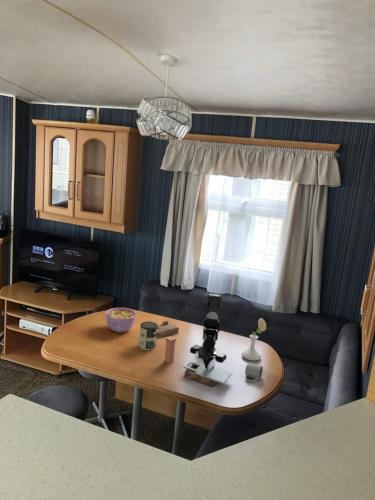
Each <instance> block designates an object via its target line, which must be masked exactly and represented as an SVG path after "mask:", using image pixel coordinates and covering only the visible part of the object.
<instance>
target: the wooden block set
mask: <svg viewBox="0 0 375 500" xmlns="http://www.w3.org/2000/svg"><path fill="white" fill-rule="evenodd" d="M161 325H162V326H161ZM161 325H160V326H158V327H157V338H156V339H158V338H162V337H170V336H172V335H177V334H179V332H180V331H179V329H180V326H177V325H176V324H173V323H170V324H169V320H168V319H166V318H163V319H162V323H161Z"/></svg>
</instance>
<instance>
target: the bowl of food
mask: <svg viewBox="0 0 375 500" xmlns="http://www.w3.org/2000/svg"><path fill="white" fill-rule="evenodd" d="M104 315H105V319H106V324H107V326H108V328H109V329H110V330H111V331H113V332H116V333H125V332H127V331H130V330H131V329H132V328H133V326H134V323H135V320H136V317H137V312H136V311H135V310H133V309H131V308H128V307H113V308H109V309H107V310H105V314H104Z"/></svg>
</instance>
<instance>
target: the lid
mask: <svg viewBox="0 0 375 500" xmlns="http://www.w3.org/2000/svg"><path fill="white" fill-rule="evenodd" d="M196 362H197V361H194V360H189V361H188V362H187V363H186V364H184V365H183V369H185V370H186V369H188V370H191V371H194V372H195V374H197V375H199V376H202V377H205V378H208V379H211V380H213V381H216V383H220V384H222V385H224V384H225V383H226V382H227V381H228V379H230V377H231V376H232V375H233V372H232V371H228V370H224V369H222V368H218V367H216V366H215V364H213V363H210V364H209V366H208V368H207V369H206V368H205V365H204V364H203V365H202V363H200V364H199V362H197V363H196ZM192 364H194V365H197V366H199V367H198V368H197V369H193V368H190V366H191V365H192Z"/></svg>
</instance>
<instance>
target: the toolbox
mask: <svg viewBox="0 0 375 500" xmlns="http://www.w3.org/2000/svg"><path fill="white" fill-rule="evenodd" d="M195 362H196V363H199V362H197V361H195ZM199 364H202V363H201V362H200V363H199ZM202 365H204V363H203V364H202ZM189 367H190V368H193V369H197V368H198V367H199V366H197V365H194V364H190V365H189ZM183 377H184V378H186V379H188V380H191V381H194V382H197V383H200V384H202V385H205V386H208V387H210V388H213V387H214V386H215V385H216V384H217V382H216V381H213V380H211V379H208V378H205V377H202V376H199V375H197V374H195V372H194V371H191V370H188V369H185V370H184V376H183Z"/></svg>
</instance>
